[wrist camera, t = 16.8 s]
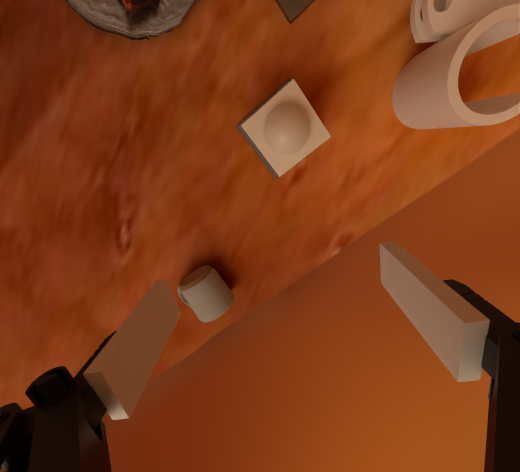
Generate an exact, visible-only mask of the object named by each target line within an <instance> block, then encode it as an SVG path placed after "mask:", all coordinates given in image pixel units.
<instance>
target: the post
mask: <svg viewBox="0 0 520 472" xmlns="http://www.w3.org/2000/svg"><path fill="white" fill-rule="evenodd" d="M275 1H276V2H277V4H278V6H279V7H280V9H281V10H282V12H283V14H284V15H285V17H286V18H287V20H288V22H289V23H290V25H291V24H292V23H293V22H294V21H295V20H296V19H297V18H298V17H299V16H300V15H301V14H302V13H303V12H304V11H305V10H306V9H307V8H308V7H309V6H310V5H311V4H312V3H313V2H314V1H315V0H275Z"/></svg>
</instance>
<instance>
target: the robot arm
mask: <svg viewBox="0 0 520 472" xmlns="http://www.w3.org/2000/svg"><path fill="white" fill-rule="evenodd" d="M380 266H381V283H382V285H383V286H384V287H385V289H386V290H387V291H388V293H389V294H390V295H391V296H392V298H393V299H394V300H395V302H396V303H397V304H398V306H399V307H400V308H401V309H402V311H403V312H404V313H405V315H406V316H407V317H408V318H409V320H410V321H411V322H412V324H413V325H414V326H415V327H416V329H417V330H418V331H419V333H420V334H421V335H422V337H423V338H424V339H425V340H426V342H427V343H428V344H429V346H430V347H431V348H432V349H433V351H434V352H435V353H436V355H437V356H438V357H439V358H440V360H441V361H442V362H443V364H444V365H445V366H446V368H447V369H448V370H449V371H450V373H451V374H452V375H453V377H454V378H455V379H456V380H457V382H464V381H473V380H480V378H481V372H482V368H483V369H484V370H485V371H486V372H487V373H488V374H489V375H490V376H491V377H492V379H491V384H490V390H489V395H488V399H489V411H488V426H487V440H486V453H485V466H484V472H520V323H516V322H514V321H513V320H512V319H510V318H509V317H508V316H506V315H505V314H504V313H502V312H501V311H500V310H498V309H497V308H496V307H494V306H493V305H492V304H490V303H489V302H488V301H486V300H484V299H483V298H482V297H481V296H480V295H478V294H476V293H475V292H474V291H473V290H471V289H470V288H469V287H467V286H466V285H464V284H462V283H460V282H457V281H455V280H444V281H442V280H441V279H439V278H438V277H437V276H436V275H434V274H433V273H432V272H431V271H430V270H428V269H427V268H426V267H425V266H424V265H422V264H421V263H420V262H419V261H418V260H416V259H415V258H414V257H413V256H411V255H410V254H409V253H408V252H407V251H405V250H404V249H403V248H402V247H400V246H399V245H398V244H397V243H396V242H394V241H388V242H382V243H380ZM180 315H181V313H180V310H179V308H178V305H177V303H176V300H175V298H174V295H173V293H172V290H171V288H170V285H169V283H168V280H161V281H156V282H155V283H154V284H153V286H152V287H151V288H150V290H149V291H148V292H147V293H146V295H145V296H144V297H143V298H142V300H141V301H140V302H139V303H138V305H137V306H136V307H135V309H134V310H133V311H132V312H131V314H130V315H129V316H128V317H127V319H126V320H125V321H124V322H123V324H122V325H121V326H120V328H119V329H118V330H117V331H115V332H113V333H112V334H111V335H110V336H109V337H107V338H106V339H105V340H104V341H103V343H102V344H101V345H100V346H99V349H97V350H96V351H95V353H94V354H93V356H91V357H90V359H89V360H88V361H87V362H86V364H85V365H84V366H83V367H82V368H81V370H80V371H79V372H78V373H77V375H76V376H75V377H74V378H73V377H72V376H71V374H70V373H69V371H68V370H67V368H66V367H63V366H60V367H56V368H53V369H51V370H49V371H47V372H45V373H44V374H42V375H41V376H39V377H38V378H37V379H36V380H35V381H33V382H32V384H31V385H30V386H29V387H28V388H27V390H26V392H25V394H26V395H27V396H28V398H29V399H30V400H31V401H32V403H33V404H34V405H35V406H32V407H30V408H27V409H25V410H22V409H21V407H20V406H19V405H18V404H17V403H11V404H8V405H5V406H3V407H1V408H0V469H1V468H2V469H3V470H4V472H112V471H111V464H110V458H109V451H108V445H107V437H106V430H105V425H104V423H103V421H102V420H101V419H102V418H103V416H104V414H105V413H106V411H107V412H108V413H109V415H110V416H111V418H112V420H116V419H125V418H129V417H130V415H131V413H132V411H133V409H134V407H135V405H136V403H137V401H138V399H139V397H140V395H141V393H142V391H143V389H144V387H145V385H146V383H147V381H148V379H149V377H150V375H151V373H152V371H153V369H154V367H155V365H156V363H157V361H158V359H159V357H160V355H161V353H162V351H163V349H164V347H165V345H166V343H167V341H168V339H169V337H170V335H171V333H172V331H173V329H174V327H175V325H176V323H177V321H178V319H179V317H180Z"/></svg>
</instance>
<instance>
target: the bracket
mask: <svg viewBox="0 0 520 472" xmlns="http://www.w3.org/2000/svg"><path fill="white" fill-rule="evenodd" d="M421 8H422V18H423V21H422V20H421V18H420V10H421ZM410 26H411V31H412V35H413V38H414V40H415V42H416V43H425V42H437V43H435V44H433V45H432V46H430V47H429V48H427V49H425V50H424V51H422V52H421V53H419V54H417V55H416V56H415V57H413V58H412V59H411V60H410V61H409V62H408V63H407V64H406V65H405V66H404V67H403V69H402V70H401V72H400V73H399V75H398V77H397V79H396V82H395V85H394V88H393V94H392V103H393V109H394V112H395V114H396V116H397V117H398V119H399V120H400V121H401V122H402V123H403V124H404V125H406V126H408V127H410V128H413V129H434V128H450V127H467V126H483V125H493V124H498V123H501V122H504V121H506V120H509V119H511V118H513V117H514V116H516V115H518V114H519V113H520V93H515V94H509V95H504V96H498V97H493V98H487V99H482V100H476V101H471V102H465V103H463V101H462V99H461V97H460V94H459V90H458V76H459V70H460V67H461V64H462V61H463V59H464V57H465V56H468V55H470V54H472V53H474V52H477V51H479V50H482V49H484V48H486V47H489V46H491V45H494V44H496V43H498V42H501V41H503V40H506V39H508V38H510V37H513V36H515V35H518V34H520V0H412V3H411V9H410Z"/></svg>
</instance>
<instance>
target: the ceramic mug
mask: <svg viewBox="0 0 520 472" xmlns="http://www.w3.org/2000/svg"><path fill="white" fill-rule="evenodd" d="M178 294H179V296H180V298H181V299H182V301H183V302H184V303H185V304H187V305H188V306H190V307H191V308H192V309H193V311H194V312H195V314H196V315H197V317H198V318H199V319H200V320H201V321H202V322H210V321H212V320H215V319H216V318H218V317H220V316H221V315H223V314H224V313H225V312H226V311H227V310H228V309H229V308H230V306H231V305H232V303H233V301H234V294H233V293H232V292H231V290H230V289H229V288H228V286H227V285H226V284H225V282H224V281H223V280H222V278H221V277H220V275H219V274H218V272H217V271H216V270H215V269H214V268H213V267H212V266H210V265H204V266H202V267H200V268H198V269H196V270H194V271H193V272H191V273H190V274H189V275H188V276H186V277H185V278H184V279H183V281H182V282H181V284H180V286H179V287H178Z"/></svg>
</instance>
